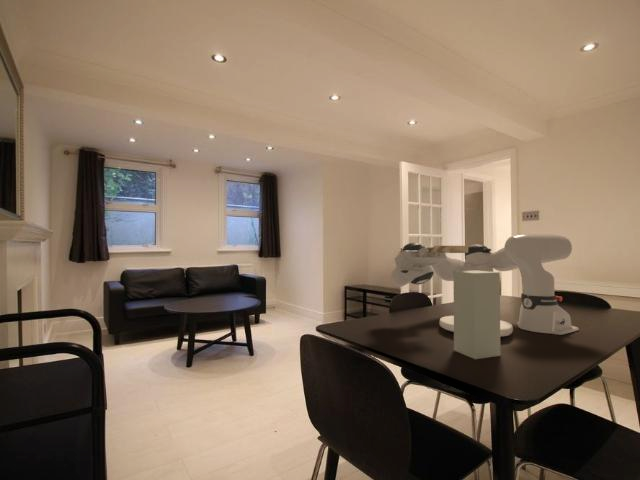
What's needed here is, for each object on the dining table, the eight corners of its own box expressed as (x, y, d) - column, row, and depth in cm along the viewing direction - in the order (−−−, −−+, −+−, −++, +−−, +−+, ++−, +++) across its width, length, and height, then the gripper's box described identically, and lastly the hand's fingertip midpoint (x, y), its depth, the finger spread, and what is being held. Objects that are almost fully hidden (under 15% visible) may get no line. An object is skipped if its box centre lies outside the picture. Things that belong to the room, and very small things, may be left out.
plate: (434, 312, 148) (499, 314, 142) (434, 327, 147) (499, 330, 142) (445, 319, 120) (525, 322, 115) (445, 337, 120) (526, 342, 114)
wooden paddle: (418, 251, 129) (418, 245, 129) (433, 251, 131) (433, 245, 131) (451, 253, 111) (451, 245, 111) (468, 252, 114) (468, 245, 114)
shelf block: (478, 347, 111) (477, 270, 112) (500, 355, 103) (499, 272, 103) (454, 350, 108) (453, 271, 109) (475, 359, 100) (474, 273, 100)
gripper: (437, 270, 140) (457, 255, 128) (395, 272, 133) (412, 255, 122) (432, 257, 143) (451, 241, 131) (390, 258, 136) (407, 241, 125)
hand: (432, 248), depth 127 cm, fingers closed on wooden paddle, 2 cm apart
